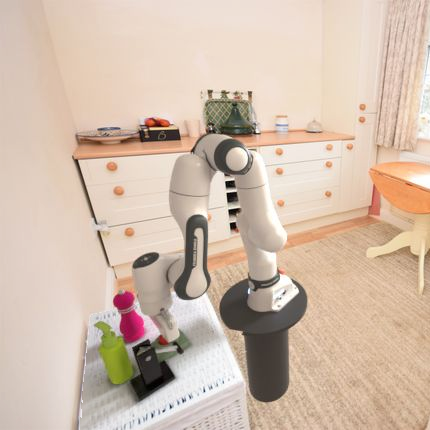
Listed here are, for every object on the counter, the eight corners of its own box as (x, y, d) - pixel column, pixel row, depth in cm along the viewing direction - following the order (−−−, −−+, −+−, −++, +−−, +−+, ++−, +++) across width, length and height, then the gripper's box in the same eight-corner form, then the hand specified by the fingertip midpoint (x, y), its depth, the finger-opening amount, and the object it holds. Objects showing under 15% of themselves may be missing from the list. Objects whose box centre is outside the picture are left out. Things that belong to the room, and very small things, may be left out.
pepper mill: (151, 329, 106) (138, 284, 98) (136, 344, 100) (121, 298, 91) (133, 325, 107) (120, 281, 99) (117, 341, 101) (101, 295, 92)
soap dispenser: (123, 362, 93) (107, 314, 85) (137, 371, 91) (121, 323, 82) (104, 377, 88) (84, 328, 80) (118, 387, 86) (99, 337, 77)
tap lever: (175, 346, 93) (178, 339, 93) (182, 355, 90) (185, 348, 90) (134, 351, 84) (138, 344, 84) (141, 362, 81) (144, 354, 80)
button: (170, 333, 100) (169, 329, 99) (175, 340, 98) (174, 336, 97) (157, 340, 97) (156, 336, 97) (162, 347, 95) (161, 343, 94)
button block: (179, 332, 105) (177, 324, 103) (189, 345, 100) (187, 336, 99) (146, 350, 98) (144, 342, 96) (155, 365, 93) (153, 356, 91)
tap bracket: (165, 362, 94) (156, 330, 88) (175, 378, 89) (167, 345, 83) (130, 383, 87) (118, 350, 81) (139, 401, 82) (127, 367, 77)
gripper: (181, 313, 86) (188, 347, 92) (154, 282, 99) (162, 314, 105) (158, 324, 82) (167, 359, 88) (134, 291, 95) (143, 323, 100)
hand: (164, 334), depth 96 cm, fingers closed
